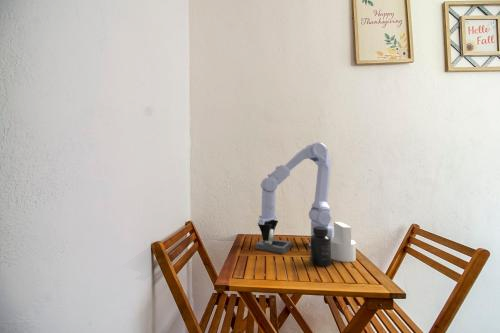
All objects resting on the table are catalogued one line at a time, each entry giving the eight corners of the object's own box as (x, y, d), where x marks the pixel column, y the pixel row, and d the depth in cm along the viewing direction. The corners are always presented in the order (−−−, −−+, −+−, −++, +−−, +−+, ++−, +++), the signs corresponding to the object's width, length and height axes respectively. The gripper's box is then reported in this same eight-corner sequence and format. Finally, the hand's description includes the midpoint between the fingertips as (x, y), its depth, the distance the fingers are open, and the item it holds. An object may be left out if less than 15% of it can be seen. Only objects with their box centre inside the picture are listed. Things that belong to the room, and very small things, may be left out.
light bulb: (275, 246, 94) (275, 229, 95) (270, 248, 91) (270, 231, 91) (265, 244, 97) (266, 227, 97) (260, 246, 93) (261, 229, 93)
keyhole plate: (291, 246, 94) (291, 241, 94) (283, 253, 85) (283, 248, 85) (265, 242, 100) (265, 237, 100) (255, 248, 91) (255, 243, 91)
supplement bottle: (331, 261, 79) (331, 226, 80) (331, 268, 73) (331, 231, 73) (310, 258, 81) (311, 224, 82) (309, 265, 75) (309, 229, 75)
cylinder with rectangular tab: (326, 252, 88) (326, 221, 88) (349, 253, 88) (349, 222, 88) (334, 261, 79) (334, 227, 79) (360, 262, 79) (360, 227, 79)
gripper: (266, 203, 103) (266, 233, 102) (252, 207, 90) (251, 241, 89) (281, 204, 99) (280, 235, 99) (268, 209, 86) (267, 244, 86)
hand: (268, 238), depth 94 cm, fingers closed on light bulb, 4 cm apart
